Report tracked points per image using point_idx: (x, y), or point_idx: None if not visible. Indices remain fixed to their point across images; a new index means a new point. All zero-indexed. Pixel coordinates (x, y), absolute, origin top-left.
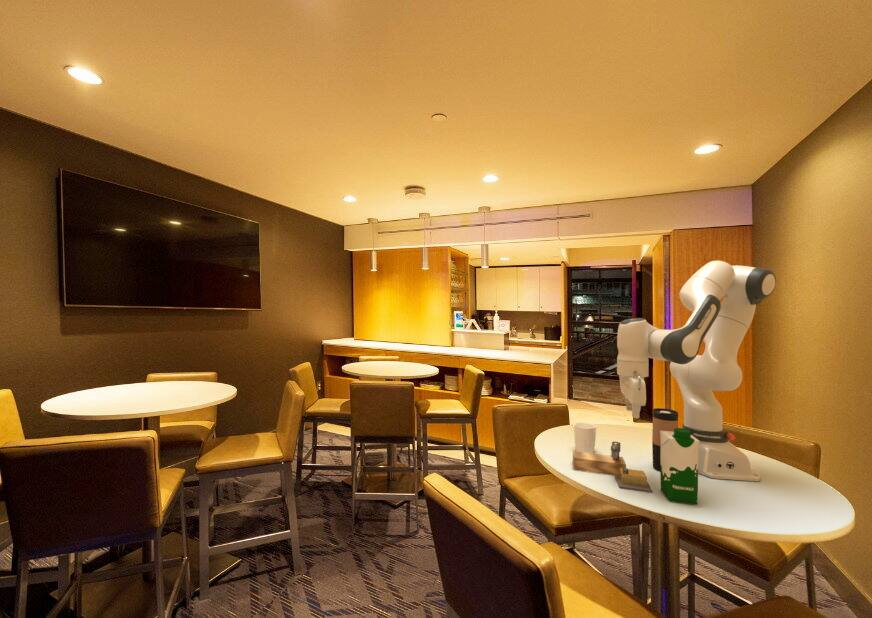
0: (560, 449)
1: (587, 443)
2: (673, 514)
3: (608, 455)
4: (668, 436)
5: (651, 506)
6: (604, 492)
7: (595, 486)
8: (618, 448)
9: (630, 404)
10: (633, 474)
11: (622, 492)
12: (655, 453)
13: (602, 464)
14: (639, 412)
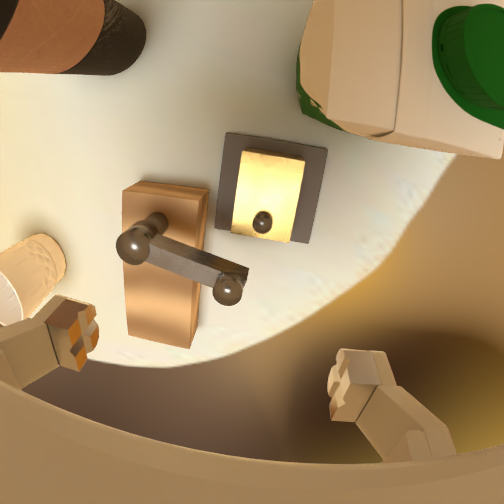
0: None
1: (47, 273)
2: (446, 157)
3: None
4: (476, 145)
5: (411, 194)
6: (340, 289)
7: (304, 301)
8: (154, 237)
9: (49, 340)
10: (286, 202)
11: (335, 241)
12: (94, 67)
13: None
14: (401, 387)
